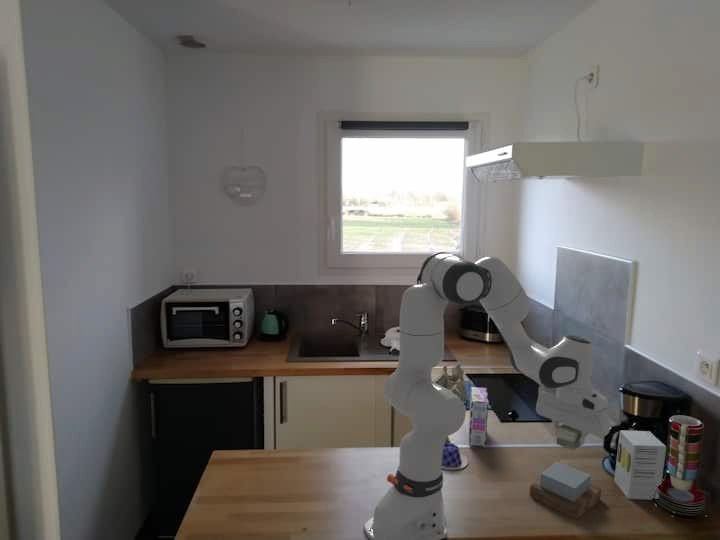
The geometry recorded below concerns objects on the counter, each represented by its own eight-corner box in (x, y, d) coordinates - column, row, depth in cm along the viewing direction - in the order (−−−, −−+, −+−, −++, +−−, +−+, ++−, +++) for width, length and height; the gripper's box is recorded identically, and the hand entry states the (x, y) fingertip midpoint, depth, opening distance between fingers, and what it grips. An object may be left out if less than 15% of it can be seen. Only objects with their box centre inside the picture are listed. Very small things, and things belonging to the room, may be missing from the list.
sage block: (573, 450, 143) (574, 433, 142) (556, 443, 147) (557, 427, 146) (581, 445, 146) (583, 428, 146) (565, 438, 150) (566, 422, 149)
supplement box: (613, 480, 158) (618, 429, 155) (643, 481, 158) (649, 430, 155) (628, 499, 148) (634, 445, 146) (660, 500, 148) (667, 446, 146)
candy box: (486, 448, 177) (488, 402, 174) (468, 446, 178) (471, 400, 175) (484, 429, 190) (487, 387, 187) (468, 428, 191) (470, 385, 188)
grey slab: (574, 502, 141) (575, 488, 141) (539, 486, 148) (540, 473, 148) (589, 488, 148) (590, 475, 147) (556, 473, 155) (557, 461, 155)
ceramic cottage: (435, 387, 229) (437, 355, 226) (472, 395, 222) (474, 363, 219) (423, 402, 215) (425, 369, 212) (462, 411, 209) (465, 377, 205)
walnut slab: (576, 521, 139) (577, 508, 139) (529, 497, 150) (530, 485, 149) (599, 501, 148) (601, 488, 148) (554, 480, 159) (555, 468, 158)
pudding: (429, 451, 174) (430, 436, 174) (465, 453, 173) (466, 438, 173) (431, 470, 163) (432, 455, 162) (469, 472, 162) (470, 457, 161)
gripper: (533, 384, 150) (530, 429, 152) (604, 408, 134) (599, 457, 137) (544, 379, 154) (541, 423, 156) (615, 401, 139) (610, 449, 141)
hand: (569, 439), depth 146 cm, fingers closed on sage block, 5 cm apart
